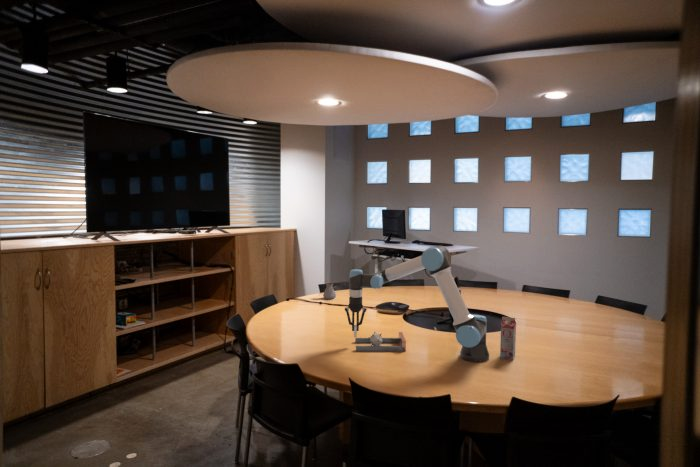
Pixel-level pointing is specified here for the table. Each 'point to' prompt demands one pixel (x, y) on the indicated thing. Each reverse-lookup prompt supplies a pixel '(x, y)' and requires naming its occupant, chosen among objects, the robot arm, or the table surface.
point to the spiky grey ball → (376, 339)
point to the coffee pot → (330, 291)
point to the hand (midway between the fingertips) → (355, 336)
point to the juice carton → (508, 338)
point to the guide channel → (399, 340)
